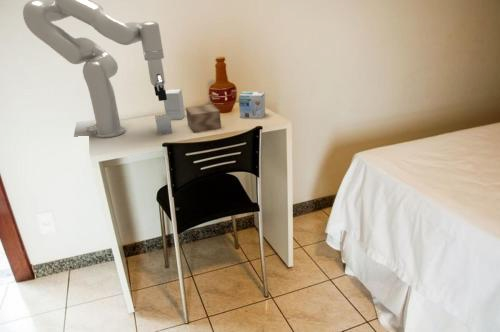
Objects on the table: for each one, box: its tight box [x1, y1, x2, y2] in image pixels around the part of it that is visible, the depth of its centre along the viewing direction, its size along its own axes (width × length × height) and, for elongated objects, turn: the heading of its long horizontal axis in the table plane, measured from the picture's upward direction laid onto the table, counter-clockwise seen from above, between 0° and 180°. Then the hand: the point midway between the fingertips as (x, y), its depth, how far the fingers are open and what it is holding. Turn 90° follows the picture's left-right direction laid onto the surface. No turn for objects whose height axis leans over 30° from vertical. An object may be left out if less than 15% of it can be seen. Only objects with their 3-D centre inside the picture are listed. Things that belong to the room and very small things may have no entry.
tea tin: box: [154, 113, 173, 136], centre depth 168 cm, size 6×6×7 cm
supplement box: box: [163, 88, 186, 121], centre depth 185 cm, size 7×7×13 cm
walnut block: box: [185, 103, 222, 134], centre depth 172 cm, size 12×12×8 cm
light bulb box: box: [238, 91, 266, 120], centre depth 181 cm, size 11×7×11 cm, turn 73°
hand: (161, 97), depth 163 cm, fingers open, 9 cm apart
